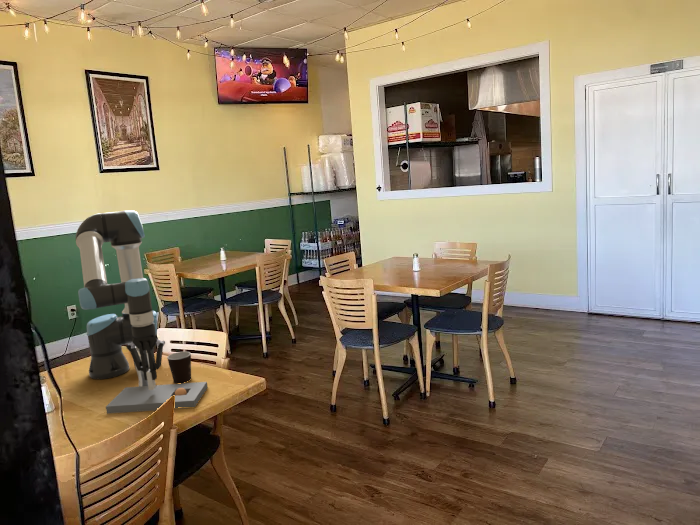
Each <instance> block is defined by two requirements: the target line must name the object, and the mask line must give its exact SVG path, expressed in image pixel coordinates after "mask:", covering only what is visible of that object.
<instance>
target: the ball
mask: <svg viewBox="0 0 700 525" xmlns="http://www.w3.org/2000/svg"><path fill="white" fill-rule="evenodd" d="M177 395H187V392H186V390H185V389H184V388H178V389H177V390H176V391H175V396H177Z"/></svg>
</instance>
